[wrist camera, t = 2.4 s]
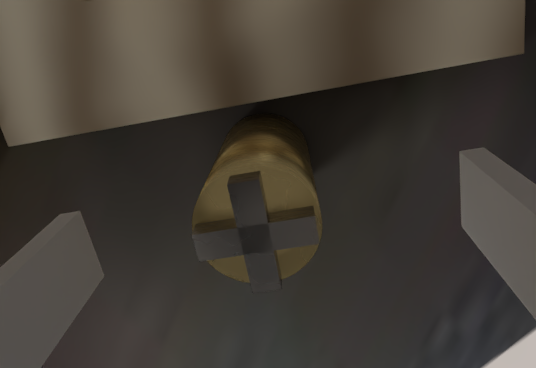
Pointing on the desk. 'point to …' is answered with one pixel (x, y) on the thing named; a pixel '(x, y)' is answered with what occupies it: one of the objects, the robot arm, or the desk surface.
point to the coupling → (259, 205)
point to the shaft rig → (221, 54)
